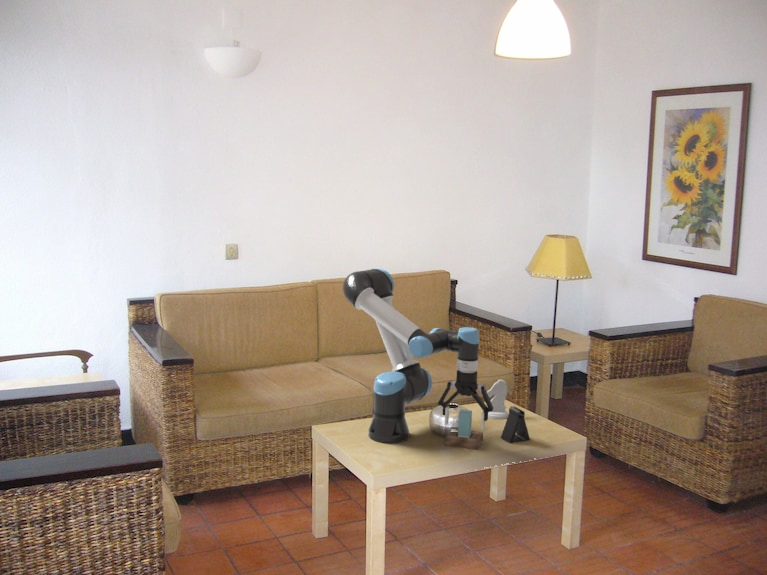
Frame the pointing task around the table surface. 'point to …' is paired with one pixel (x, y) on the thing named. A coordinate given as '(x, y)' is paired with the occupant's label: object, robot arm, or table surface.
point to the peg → (464, 423)
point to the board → (464, 440)
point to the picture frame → (515, 427)
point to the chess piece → (498, 400)
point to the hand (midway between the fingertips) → (464, 426)
